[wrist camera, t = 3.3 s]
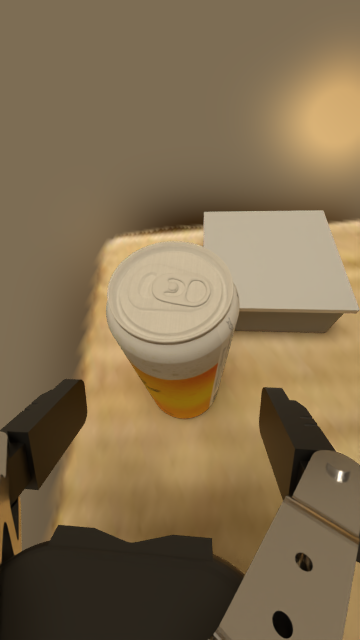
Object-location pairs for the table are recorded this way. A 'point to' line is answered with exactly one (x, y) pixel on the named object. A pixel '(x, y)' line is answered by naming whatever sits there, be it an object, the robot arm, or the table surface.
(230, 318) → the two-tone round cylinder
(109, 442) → the table surface
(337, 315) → the grey square box
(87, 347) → the table surface
